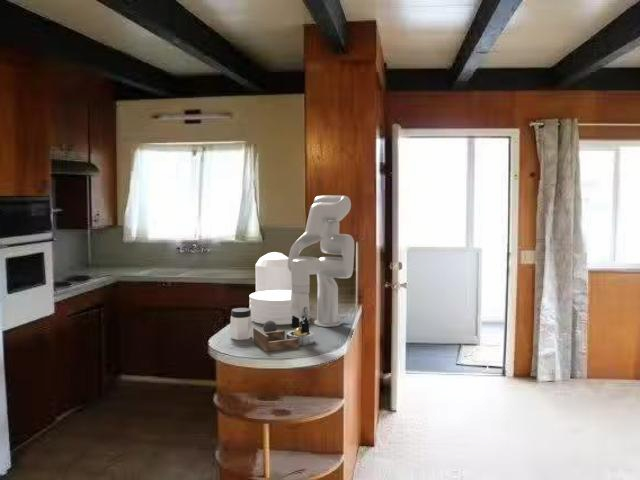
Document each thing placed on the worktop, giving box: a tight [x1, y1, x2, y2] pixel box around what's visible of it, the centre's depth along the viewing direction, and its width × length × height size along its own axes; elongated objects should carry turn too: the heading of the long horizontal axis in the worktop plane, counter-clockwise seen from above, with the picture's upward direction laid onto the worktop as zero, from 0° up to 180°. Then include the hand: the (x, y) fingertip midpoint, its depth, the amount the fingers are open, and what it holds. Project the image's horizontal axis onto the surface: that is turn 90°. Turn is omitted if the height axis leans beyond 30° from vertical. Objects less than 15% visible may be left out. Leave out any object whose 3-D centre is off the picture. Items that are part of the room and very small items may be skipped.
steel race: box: [286, 330, 315, 346], centre depth 230 cm, size 11×11×4 cm
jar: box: [230, 307, 253, 341], centre depth 236 cm, size 9×8×12 cm
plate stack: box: [248, 290, 305, 325], centre depth 273 cm, size 28×28×12 cm
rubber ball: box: [262, 320, 278, 333], centre depth 242 cm, size 6×6×6 cm
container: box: [254, 251, 291, 292], centre depth 312 cm, size 21×21×28 cm
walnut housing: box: [252, 327, 299, 352], centre depth 225 cm, size 14×15×6 cm
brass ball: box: [293, 326, 307, 336], centre depth 230 cm, size 6×6×6 cm
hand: (300, 330), depth 230 cm, fingers open, 9 cm apart
